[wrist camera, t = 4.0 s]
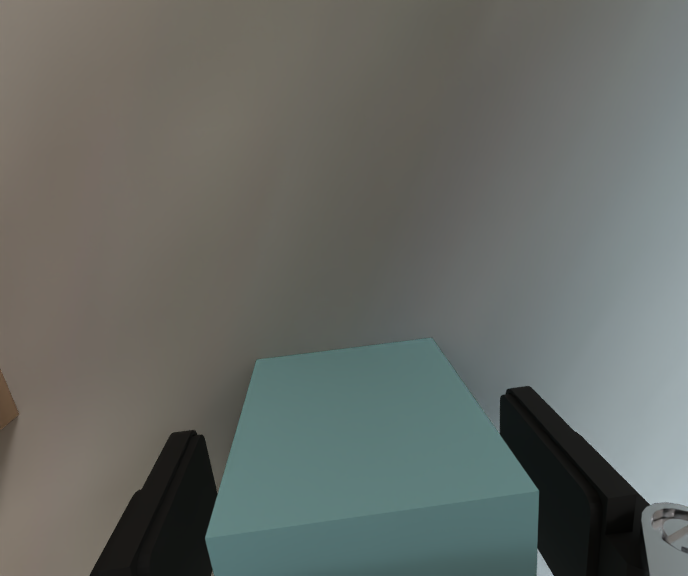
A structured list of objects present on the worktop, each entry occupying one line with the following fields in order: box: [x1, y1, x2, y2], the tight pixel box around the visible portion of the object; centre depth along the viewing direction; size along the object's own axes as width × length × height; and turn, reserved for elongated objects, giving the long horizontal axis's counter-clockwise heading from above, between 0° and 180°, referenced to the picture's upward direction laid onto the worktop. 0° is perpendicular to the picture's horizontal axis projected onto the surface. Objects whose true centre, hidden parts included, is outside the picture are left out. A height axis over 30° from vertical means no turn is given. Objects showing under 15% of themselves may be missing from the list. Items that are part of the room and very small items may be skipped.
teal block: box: [205, 338, 539, 576], centre depth 10 cm, size 5×5×6 cm
